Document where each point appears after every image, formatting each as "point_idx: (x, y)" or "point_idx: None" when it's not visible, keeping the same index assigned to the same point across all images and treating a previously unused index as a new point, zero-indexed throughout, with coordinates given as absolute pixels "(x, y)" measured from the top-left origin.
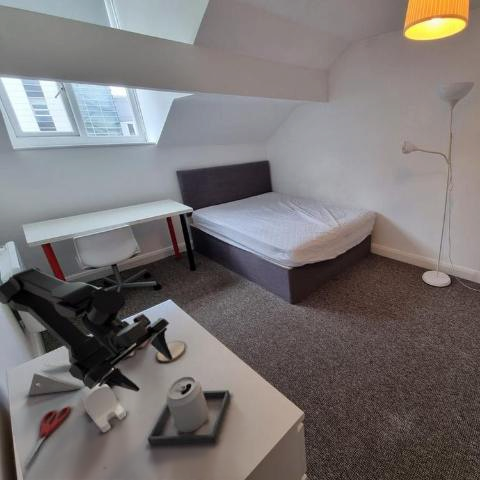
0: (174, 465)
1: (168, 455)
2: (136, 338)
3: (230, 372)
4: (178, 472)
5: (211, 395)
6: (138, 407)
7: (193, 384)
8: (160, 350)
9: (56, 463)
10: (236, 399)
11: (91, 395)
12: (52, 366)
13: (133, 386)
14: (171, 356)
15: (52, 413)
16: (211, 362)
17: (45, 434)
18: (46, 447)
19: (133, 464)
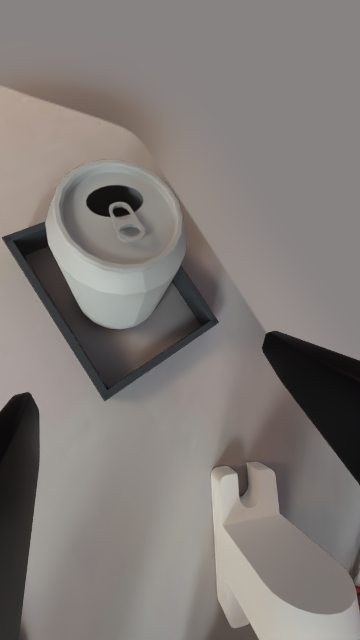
0: (198, 250)
1: (196, 276)
2: None
3: None
4: (199, 234)
5: (43, 287)
6: (182, 466)
7: (82, 189)
8: (12, 559)
9: (335, 469)
10: (13, 230)
11: (343, 594)
12: None
13: (306, 343)
14: (9, 405)
15: None
16: None
17: (356, 591)
18: (347, 542)
19: (243, 323)
